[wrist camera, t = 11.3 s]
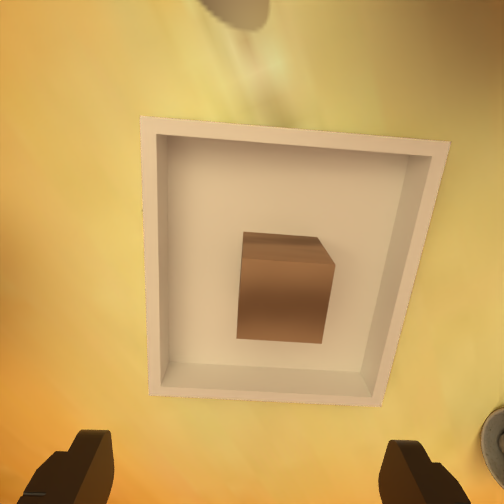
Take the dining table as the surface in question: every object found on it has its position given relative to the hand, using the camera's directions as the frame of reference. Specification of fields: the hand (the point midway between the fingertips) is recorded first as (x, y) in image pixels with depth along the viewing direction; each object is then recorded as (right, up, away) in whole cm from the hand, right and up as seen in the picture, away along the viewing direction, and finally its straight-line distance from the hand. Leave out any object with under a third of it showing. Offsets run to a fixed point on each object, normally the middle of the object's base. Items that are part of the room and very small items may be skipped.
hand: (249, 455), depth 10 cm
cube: (+2, +5, +18) cm, 19 cm away
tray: (+2, +5, +19) cm, 20 cm away
